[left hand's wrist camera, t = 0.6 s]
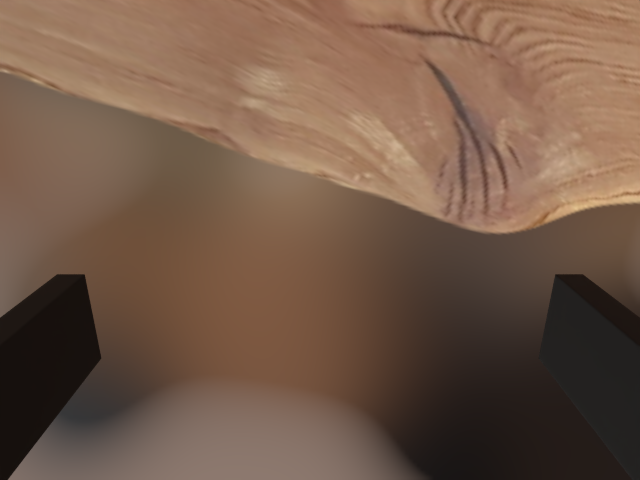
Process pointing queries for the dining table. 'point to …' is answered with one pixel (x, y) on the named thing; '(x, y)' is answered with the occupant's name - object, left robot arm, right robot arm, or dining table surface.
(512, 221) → the dining table surface
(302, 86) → the dining table surface
